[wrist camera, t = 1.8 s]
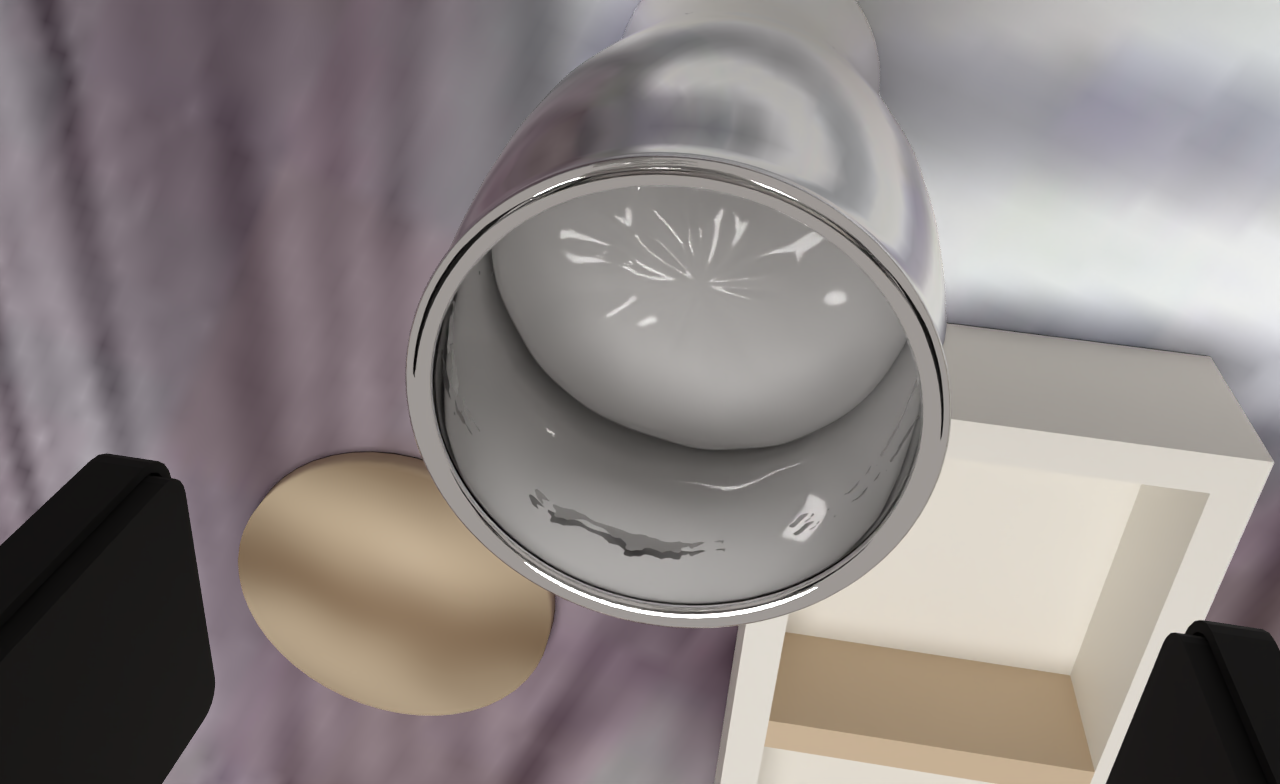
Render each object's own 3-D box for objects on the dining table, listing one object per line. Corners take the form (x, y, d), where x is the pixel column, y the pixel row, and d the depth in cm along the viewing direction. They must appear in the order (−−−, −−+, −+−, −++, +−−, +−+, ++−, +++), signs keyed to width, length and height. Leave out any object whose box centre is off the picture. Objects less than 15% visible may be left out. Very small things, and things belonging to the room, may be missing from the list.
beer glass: (710, -148, 24) (574, 1, 11) (965, 46, 25) (1107, 380, 12) (545, 115, 27) (296, 459, 14) (776, 274, 28) (735, 720, 16)
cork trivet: (231, 430, 34) (219, 445, 33) (560, 477, 33) (554, 493, 32) (265, 672, 39) (256, 689, 38) (550, 718, 38) (545, 736, 37)
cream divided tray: (788, 303, 29) (782, 396, 25) (1210, 356, 28) (1274, 462, 24) (706, 833, 40) (692, 957, 36) (1007, 884, 39) (1028, 1017, 35)
